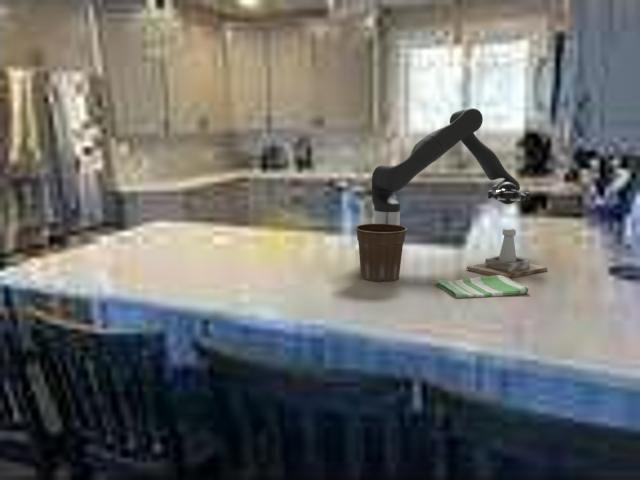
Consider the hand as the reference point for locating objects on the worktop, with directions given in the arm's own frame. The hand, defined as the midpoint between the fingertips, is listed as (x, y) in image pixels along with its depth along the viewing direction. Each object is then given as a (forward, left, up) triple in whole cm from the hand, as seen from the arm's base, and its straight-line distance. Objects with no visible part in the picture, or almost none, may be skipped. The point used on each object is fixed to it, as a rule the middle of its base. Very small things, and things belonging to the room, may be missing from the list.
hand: (509, 197), depth 243 cm
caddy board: (-8, -7, -23) cm, 26 cm away
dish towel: (-36, -19, -24) cm, 48 cm away
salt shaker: (-8, -7, -22) cm, 25 cm away
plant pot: (-51, +9, -24) cm, 57 cm away
